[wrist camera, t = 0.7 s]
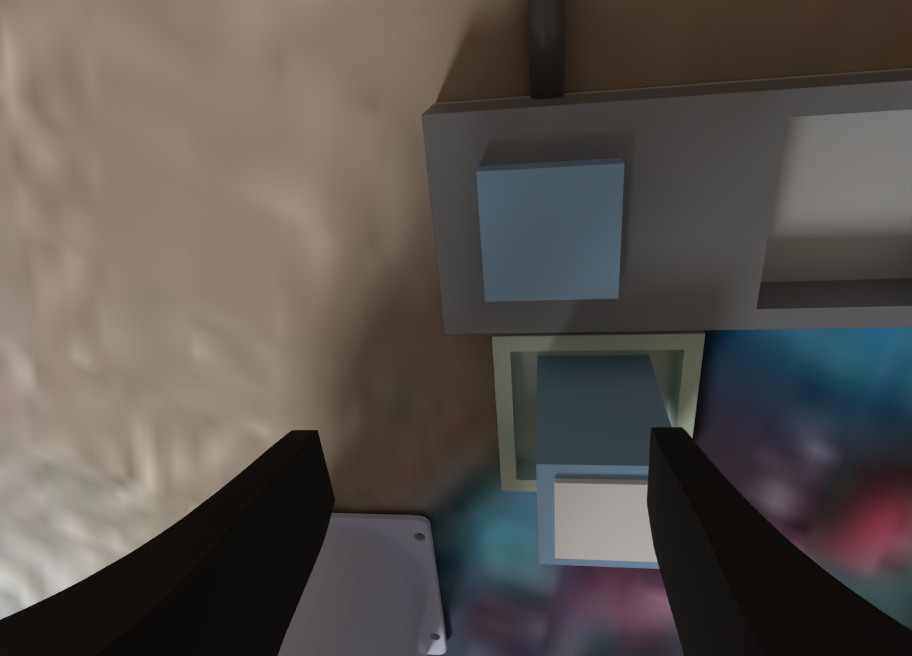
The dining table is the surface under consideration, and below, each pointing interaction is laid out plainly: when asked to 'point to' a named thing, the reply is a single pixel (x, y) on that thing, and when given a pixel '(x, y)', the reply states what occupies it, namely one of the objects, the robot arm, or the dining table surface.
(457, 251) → the grey busybox board
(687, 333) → the tray
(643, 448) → the plug
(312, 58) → the dining table surface
